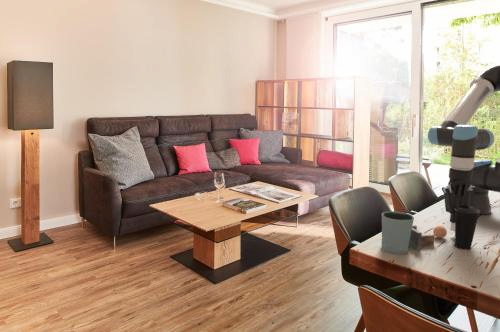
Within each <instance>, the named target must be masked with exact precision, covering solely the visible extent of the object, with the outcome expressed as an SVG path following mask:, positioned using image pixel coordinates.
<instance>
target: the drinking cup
mask: <svg viewBox="0 0 500 332" xmlns="http://www.w3.org/2000/svg"><path fill="white" fill-rule="evenodd" d="M469 200H470V191H468V197H467V205H461V206H457V207H455V232H454V247H455V248H456V249H460V250H463V251H464V250H465V251H469V250H471V249H472V245H473V244H472V243H473V240H474V235H475V233H476V232H475V231H476V228H477V223H478V219H479V213H480V210H479V209H476V208H475V207H472V206H469Z"/></svg>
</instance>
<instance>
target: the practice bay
mask: <svg viewBox="0 0 500 332" xmlns="http://www.w3.org/2000/svg"><path fill="white" fill-rule="evenodd" d="M435 238H436V236H435V235H434V233H433V234H432V233H431V234H423V233H422V232H421V231H419V230H418V226H417V224H413V225H412V230H411V236H410V240H409V246H410V247H411V248H413V249H415V250H417V251H420V250H421V248H422V246H423V247H424V246H425V247H426V246H434V245H435Z"/></svg>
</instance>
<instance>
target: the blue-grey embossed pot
mask: <svg viewBox="0 0 500 332" xmlns="http://www.w3.org/2000/svg"><path fill="white" fill-rule="evenodd" d="M414 220H415V218H414V216H413V215H412V214H410V213H406V212H403V211H402V212H401V211H394V210H393V211H392V210H391V211H384V212H382V213H381V249H382V250H383V251H384V252H386V253H389V254H393V255H403V254H407V253H408V251H409V246H410V245H409V240H410V236H411V230H412V225H414Z"/></svg>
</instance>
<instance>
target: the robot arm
mask: <svg viewBox="0 0 500 332" xmlns="http://www.w3.org/2000/svg"><path fill="white" fill-rule="evenodd" d="M496 92H500V63H499V62H498V63H496V64H493V65H491V66H489V67H487V68H485V69H484V70H482V71H481V72H480V73H478V75H476V76H475V77H474V79H472V80H471V82H470V84H469V88H468V89H467V91H466V92H465V94H464V95H463V96H462V98H461V99H460V100H459V102H458V103H457V104H456V105H455V107H454V108H453V109H452V111H451V112H450V113H449V114H448V116H447V117H446V118H445V120H443V122H442V123H441V125H433V126H431V127H430V128H429V130H428V133H427V139H428V142H429V143H430V144H431V145H436V146H439V147H440V146H441V147H442V146H443V147H451V153H450V159H449V160H450V162H449V167H450V168H449V170H448V178H449V181H448V183H447V185H446V186H445V187H444V186H442V187H441V191H442V193H443V197H444V198H443V199H444V206H445V207H444V208H445V212H446V213H449V214H450V216H449V222H450V227H449V230H451V231H452V232H454V233H455V207H457V206H461V205H467V197H468V191H470V200H469V206H472V207H475V208H476V209H479V210H480V213H479V215H489V214H491V212H492V206H491V202H490V197H489V193H490V192H494V193H500V157H499V158H498V159H496V160H495V163H494V162H493V159H488V158H487V159H486V158H485V159H483V158H482V159H481V158H480V159H475V155H476V151H481V150H482V151H483V150H486V149H488V148H490V147H492V145H493V144H494V142H495V136H494V134H493V132H492V131H491V130H489V129H487V128H478V127H477V126H476V125H473V124H468V123H469V122H470V120H471V119H472V118H473V117H474V115H475V114H476V112H477V111H478V109H479V108H480V107H481V106H482V105H483V103H484V102H485V101H486V99H487V98H489V97H491V96H492V95H493V94H494V93H496ZM479 215H478V216H479Z"/></svg>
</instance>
